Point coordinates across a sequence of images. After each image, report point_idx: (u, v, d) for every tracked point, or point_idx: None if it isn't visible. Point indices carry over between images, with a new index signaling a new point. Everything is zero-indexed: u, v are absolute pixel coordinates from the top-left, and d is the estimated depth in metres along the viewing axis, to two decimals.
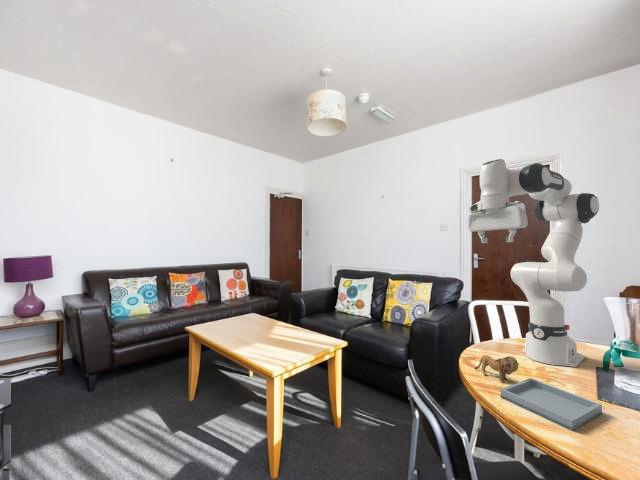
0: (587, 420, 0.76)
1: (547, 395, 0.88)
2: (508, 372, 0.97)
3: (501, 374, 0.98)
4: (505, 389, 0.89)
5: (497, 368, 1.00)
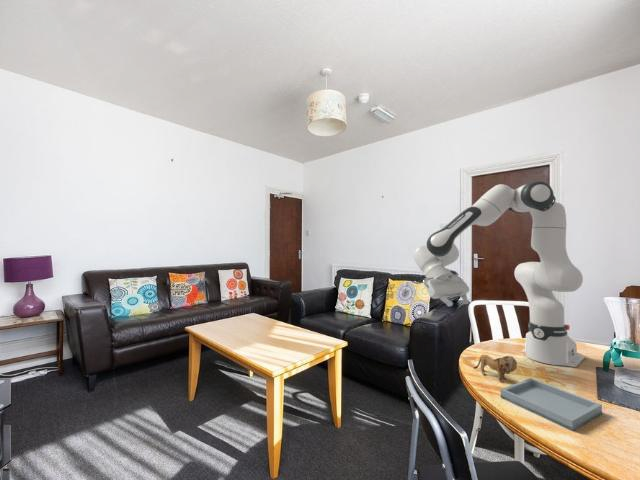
0: (587, 420, 0.76)
1: (547, 395, 0.88)
2: (507, 371, 0.97)
3: (500, 373, 0.99)
4: (505, 389, 0.89)
5: (496, 367, 1.00)
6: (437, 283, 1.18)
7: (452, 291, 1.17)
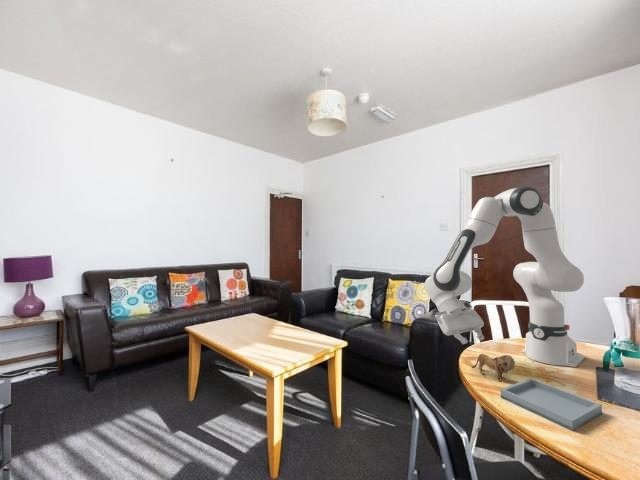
0: (587, 420, 0.76)
1: (547, 395, 0.88)
2: (505, 371, 0.98)
3: (498, 373, 0.99)
4: (505, 389, 0.89)
5: (494, 366, 1.01)
6: (450, 318, 1.13)
7: (466, 327, 1.12)
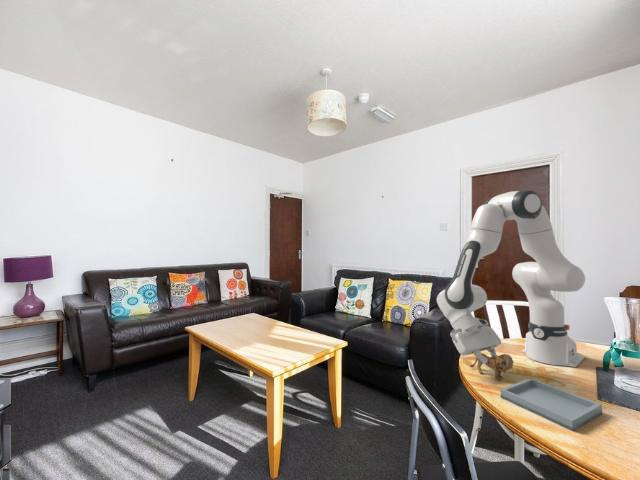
0: (587, 420, 0.76)
1: (547, 395, 0.88)
2: (503, 370, 0.99)
3: (496, 372, 1.00)
4: (505, 389, 0.89)
5: (492, 365, 1.01)
6: (466, 337, 1.06)
7: (483, 346, 1.05)
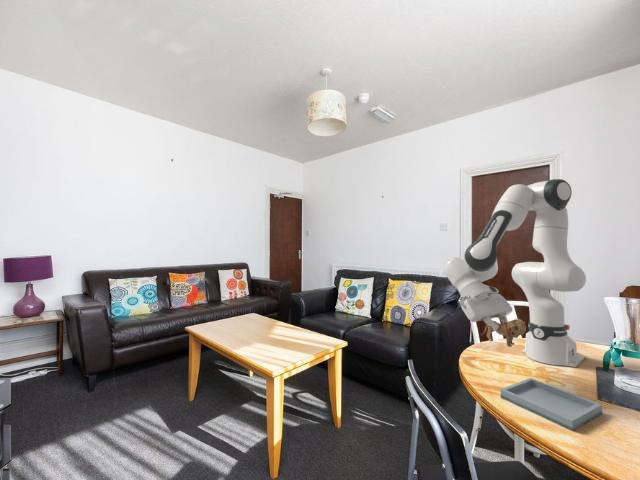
0: (587, 420, 0.76)
1: (547, 395, 0.88)
2: (515, 335, 0.94)
3: (508, 337, 0.95)
4: (505, 389, 0.89)
5: (504, 331, 0.97)
6: (476, 303, 1.02)
7: (494, 312, 1.01)
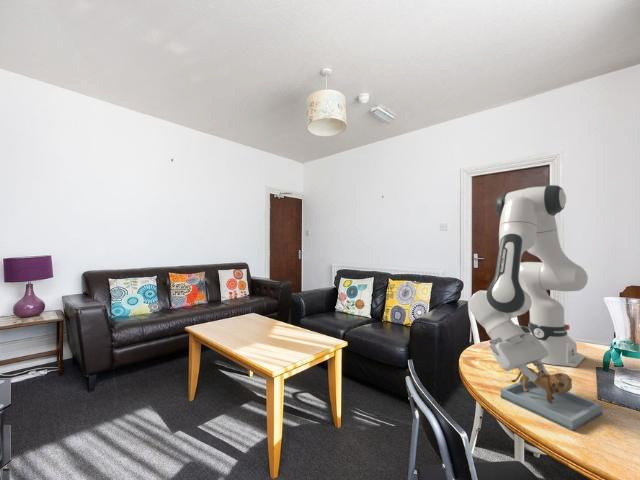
0: (587, 420, 0.76)
1: None
2: (559, 392, 0.81)
3: (550, 393, 0.82)
4: (505, 389, 0.89)
5: (544, 385, 0.84)
6: (509, 348, 0.89)
7: (530, 359, 0.88)
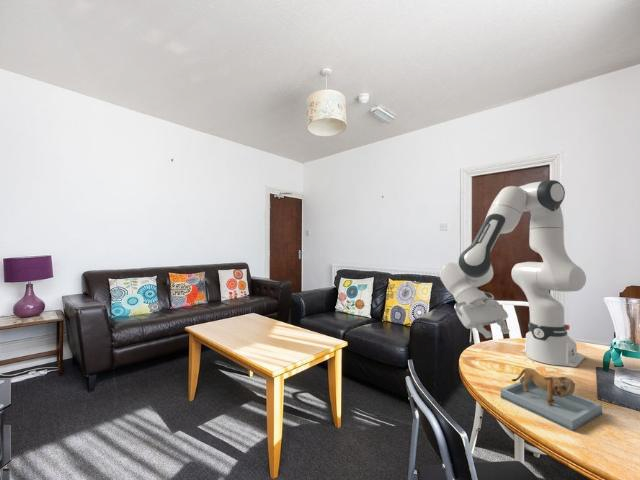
0: (587, 420, 0.76)
1: None
2: (561, 395, 0.81)
3: (551, 395, 0.83)
4: (505, 389, 0.89)
5: (546, 387, 0.84)
6: (471, 309, 1.00)
7: (489, 319, 0.99)
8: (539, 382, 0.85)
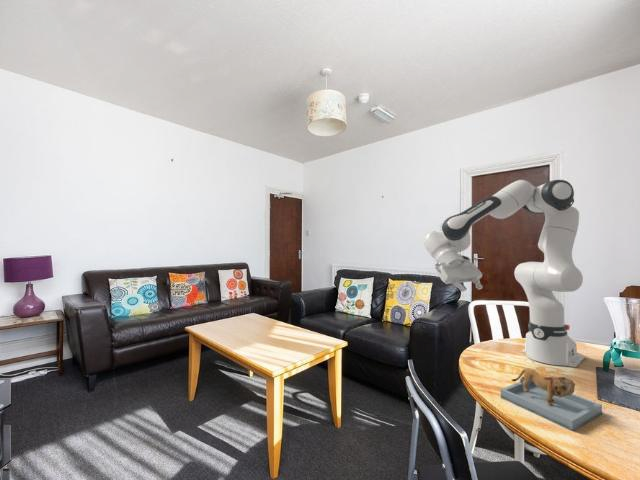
0: (587, 420, 0.76)
1: None
2: (561, 395, 0.81)
3: (551, 395, 0.83)
4: (505, 389, 0.89)
5: (546, 387, 0.84)
6: (449, 268, 1.15)
7: (465, 276, 1.14)
8: (539, 382, 0.85)
